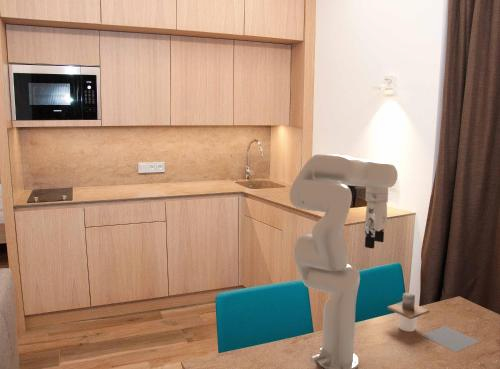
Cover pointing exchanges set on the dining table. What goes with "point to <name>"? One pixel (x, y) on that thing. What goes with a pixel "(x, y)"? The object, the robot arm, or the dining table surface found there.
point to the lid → (408, 307)
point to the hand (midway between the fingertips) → (374, 244)
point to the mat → (450, 339)
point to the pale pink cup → (407, 323)
